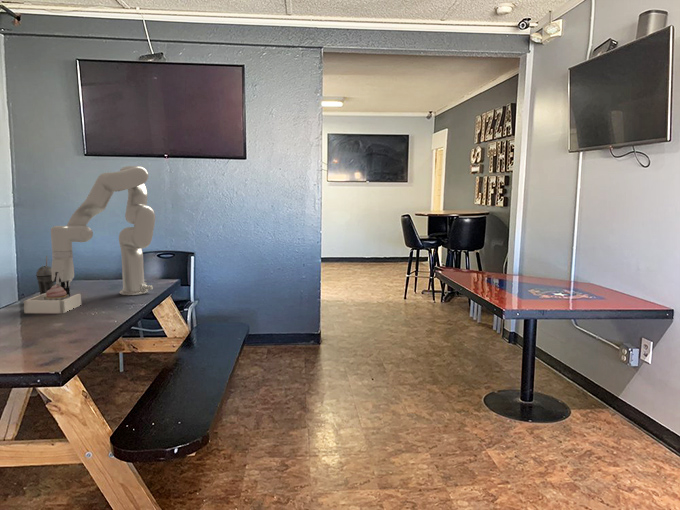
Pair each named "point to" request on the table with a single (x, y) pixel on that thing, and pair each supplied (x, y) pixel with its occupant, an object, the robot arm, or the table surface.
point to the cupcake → (56, 293)
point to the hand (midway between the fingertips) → (65, 296)
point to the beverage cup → (44, 278)
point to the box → (51, 304)
